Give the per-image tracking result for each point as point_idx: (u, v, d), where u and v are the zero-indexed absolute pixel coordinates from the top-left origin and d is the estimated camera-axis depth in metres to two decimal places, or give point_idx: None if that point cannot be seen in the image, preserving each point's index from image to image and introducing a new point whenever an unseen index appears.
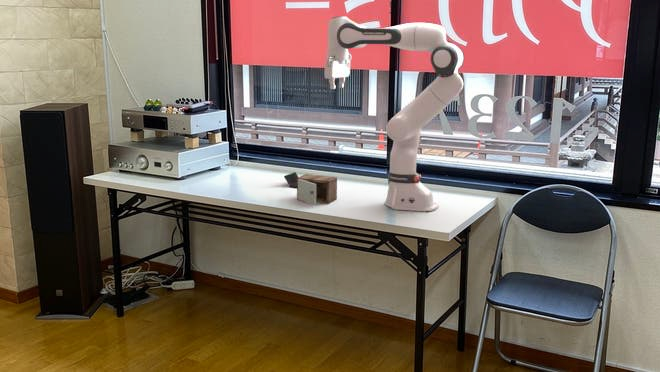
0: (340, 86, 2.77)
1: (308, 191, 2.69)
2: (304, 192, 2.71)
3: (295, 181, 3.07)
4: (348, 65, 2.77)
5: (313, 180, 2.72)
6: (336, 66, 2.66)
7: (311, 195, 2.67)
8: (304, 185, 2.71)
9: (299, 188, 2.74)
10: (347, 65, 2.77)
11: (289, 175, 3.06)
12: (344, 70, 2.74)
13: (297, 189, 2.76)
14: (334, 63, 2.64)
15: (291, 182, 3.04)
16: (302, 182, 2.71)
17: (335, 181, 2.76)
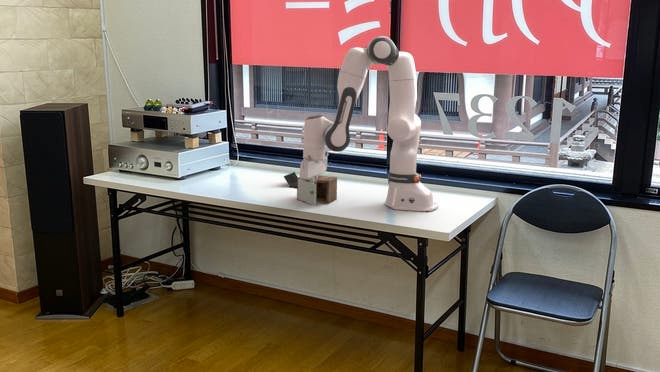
0: None
1: (308, 191, 2.69)
2: (304, 192, 2.71)
3: (294, 181, 3.07)
4: (325, 161, 2.74)
5: None
6: (312, 166, 2.63)
7: (311, 195, 2.67)
8: (304, 185, 2.71)
9: (299, 188, 2.74)
10: (324, 161, 2.74)
11: (288, 175, 3.06)
12: (320, 167, 2.71)
13: (297, 189, 2.76)
14: (310, 164, 2.61)
15: (291, 182, 3.04)
16: (302, 182, 2.71)
17: (335, 181, 2.76)
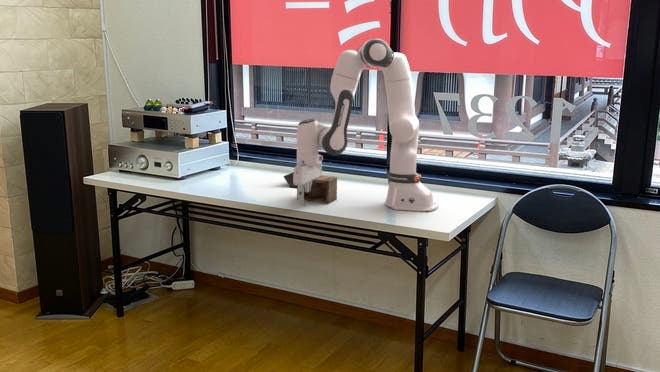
0: None
1: (300, 192, 2.67)
2: (299, 192, 2.70)
3: None
4: (319, 166, 2.69)
5: (313, 180, 2.72)
6: (305, 171, 2.58)
7: (301, 196, 2.66)
8: None
9: (298, 188, 2.74)
10: (318, 166, 2.68)
11: (288, 175, 3.06)
12: (315, 172, 2.65)
13: (297, 189, 2.76)
14: (303, 170, 2.55)
15: (291, 182, 3.04)
16: None
17: (335, 181, 2.76)
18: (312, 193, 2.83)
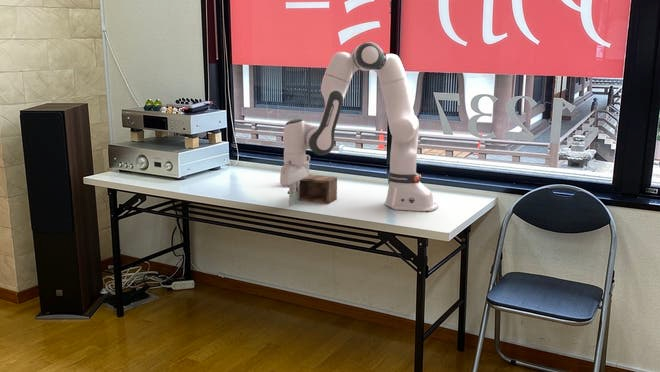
0: None
1: None
2: None
3: None
4: (307, 166, 2.69)
5: (313, 180, 2.72)
6: (293, 171, 2.58)
7: None
8: None
9: None
10: (306, 166, 2.68)
11: None
12: (302, 172, 2.65)
13: None
14: (290, 170, 2.55)
15: None
16: None
17: (335, 181, 2.76)
18: (312, 193, 2.83)
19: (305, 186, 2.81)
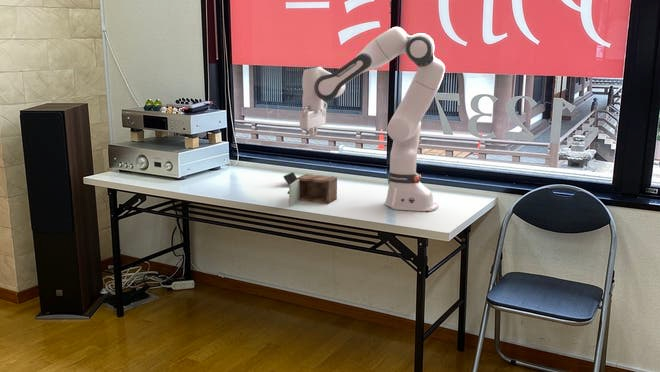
0: None
1: None
2: None
3: None
4: (324, 113, 2.77)
5: (313, 180, 2.72)
6: (311, 116, 2.66)
7: None
8: None
9: None
10: (323, 113, 2.77)
11: (288, 175, 3.06)
12: (320, 119, 2.74)
13: None
14: (310, 114, 2.64)
15: (290, 182, 3.04)
16: None
17: (335, 181, 2.76)
18: (312, 193, 2.83)
19: (305, 186, 2.81)
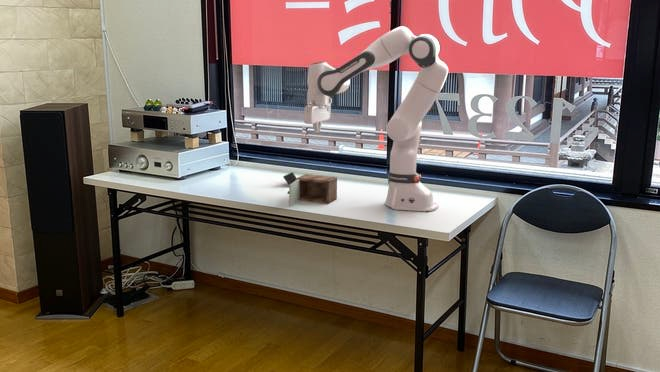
0: None
1: None
2: None
3: (293, 181, 3.07)
4: (328, 108, 2.81)
5: (313, 180, 2.72)
6: (316, 111, 2.69)
7: None
8: None
9: None
10: (327, 108, 2.80)
11: (287, 175, 3.05)
12: (324, 114, 2.77)
13: None
14: (314, 109, 2.67)
15: (290, 182, 3.04)
16: None
17: (335, 181, 2.76)
18: (312, 193, 2.83)
19: (305, 186, 2.81)
